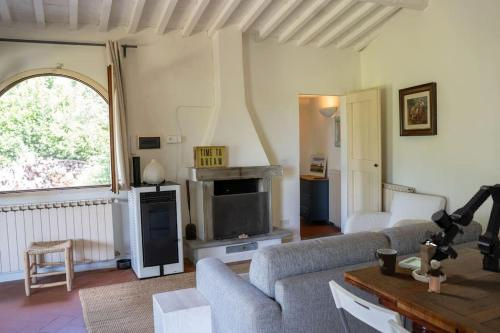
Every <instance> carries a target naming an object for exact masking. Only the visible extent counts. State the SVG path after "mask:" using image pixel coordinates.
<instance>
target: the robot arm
mask: <svg viewBox="0 0 500 333" xmlns="http://www.w3.org/2000/svg"><path fill="white" fill-rule="evenodd" d="M490 197H491V199H492V205H491V211H490V215H489V218H488V222H487V225H486V230H485V233H484V234H479V236H478V239H477V242H476V244H477V248H478V250H479V253H480V255H483V258H482V261H481V262H482V268H481V269H482V270H483V271H489V272H494V273H499V272H500V237H499V234H500V183H496V184H494V185H486V184H485V185H484V184H483V185H481V186H479V189H478V191H476V193H475V194H474V195H472V197H471V198H470V199H469V200H468V201H467V202H466V203H465V204H464V205H463V206H462V207H460V208H457V209H456V210H455V211H453V212H452V213H451V214H448V212H447V211H446V210H445V209H440V210H438V211H435V212H434V213H433V214H432V215H431V217H430V218H431V219H430V220H431V221H432V222H433V223H434V224H435V225H436V226H437V227H438V228H439V229H441V230H442V231H431V230H428V229H427V230H425V233H424V235H423V237H421V238H420V239H419V240H418V243H420V245H426V244H431V245H433V246H436V247H437V248H436V253H435V255H434V256H433V258H432V259H431V261H432V260H436V261H438V262H440V263H441V261H445V260H449V259H451V260H457V258H458V257H459V254H458V252H457V251H456V250H455V249H454V248H453V247H452V246H450V245H454V244H455V242H454V240H455V238H456V237H457V236H458V235H461V236H462V235H463V236H464V229H463V228H462V227H468V226H470V224H471V223H472V221H473V220H474V217H475V216H474V215H475V213H476V212H477V211H478V210H479V209H480V208H481V206H483V205H484V203H485V202H486V201H487V200H488V199H489V198H490ZM459 226H461V227H459ZM431 261H430V262H429V265H431Z"/></svg>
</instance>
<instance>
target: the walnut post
mask: <svg viewBox="0 0 500 333" xmlns="http://www.w3.org/2000/svg"><path fill="white" fill-rule="evenodd" d="M436 248H437V247H436V246H433V245H431V244H426V245H422V244H420V251H419V252H420V258H421V274H420V276H424V277H425V274H426V272H427V271H428V270H429V269H430V268H432V266H431V265H429V262H430V261H431V259H432V258H433V256H434V255H435V253H436ZM430 276H431V274H429V275H428V277H430Z"/></svg>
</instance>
